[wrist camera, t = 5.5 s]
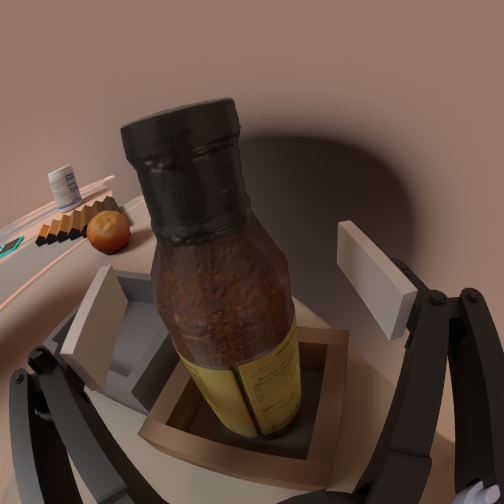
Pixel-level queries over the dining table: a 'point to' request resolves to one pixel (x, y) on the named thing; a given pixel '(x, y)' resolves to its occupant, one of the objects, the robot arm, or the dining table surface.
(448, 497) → the dining table surface
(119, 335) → the grey square tray
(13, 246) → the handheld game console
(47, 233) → the brown ridged flat piece
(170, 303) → the sauce bottle
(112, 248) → the fruit
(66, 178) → the supplement tub
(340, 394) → the walnut holder
